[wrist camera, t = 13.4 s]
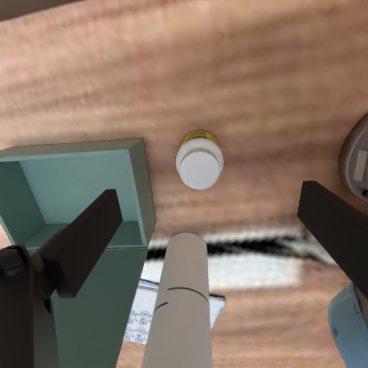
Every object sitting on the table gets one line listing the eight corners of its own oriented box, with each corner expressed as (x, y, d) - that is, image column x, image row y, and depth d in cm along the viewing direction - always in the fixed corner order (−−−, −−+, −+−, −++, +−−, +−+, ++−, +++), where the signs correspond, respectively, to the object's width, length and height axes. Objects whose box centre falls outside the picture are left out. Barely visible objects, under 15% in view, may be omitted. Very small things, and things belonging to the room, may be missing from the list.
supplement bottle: (206, 121, 27) (211, 133, 18) (224, 154, 28) (237, 181, 19) (172, 142, 28) (161, 162, 19) (192, 172, 30) (190, 205, 21)
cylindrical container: (159, 245, 36) (88, 507, 13) (189, 225, 33) (168, 501, 11) (184, 268, 38) (161, 533, 15) (214, 251, 35) (242, 533, 13)
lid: (-144, 398, 16) (-136, 401, 16) (100, 411, 14) (103, 414, 14) (11, 251, 29) (14, 254, 29) (146, 248, 27) (147, 252, 27)
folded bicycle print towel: (130, 276, 39) (126, 285, 37) (227, 296, 40) (229, 306, 38) (122, 332, 47) (118, 342, 45) (204, 348, 48) (204, 358, 46)
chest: (12, 146, 30) (-34, 159, 24) (143, 137, 28) (128, 148, 22) (46, 224, 35) (15, 251, 29) (156, 221, 34) (147, 248, 28)
